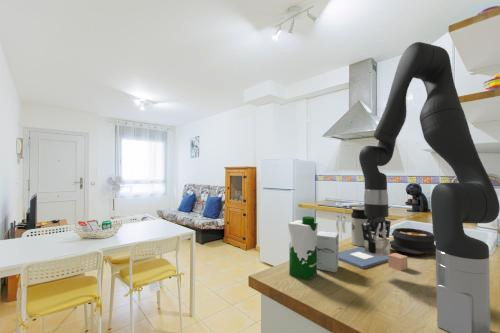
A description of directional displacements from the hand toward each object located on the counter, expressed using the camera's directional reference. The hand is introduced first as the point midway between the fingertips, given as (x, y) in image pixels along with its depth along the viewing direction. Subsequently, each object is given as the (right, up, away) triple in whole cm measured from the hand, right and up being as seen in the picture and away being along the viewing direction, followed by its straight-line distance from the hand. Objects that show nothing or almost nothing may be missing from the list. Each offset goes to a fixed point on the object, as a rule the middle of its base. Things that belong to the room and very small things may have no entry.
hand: (377, 251), depth 83 cm
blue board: (+2, -8, +16) cm, 18 cm away
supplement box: (-15, -8, +6) cm, 19 cm away
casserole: (+31, -9, +27) cm, 42 cm away
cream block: (0, -1, 0) cm, 1 cm away
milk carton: (-26, -8, 0) cm, 27 cm away
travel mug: (+10, -9, +34) cm, 37 cm away
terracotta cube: (+11, -8, +6) cm, 15 cm away
